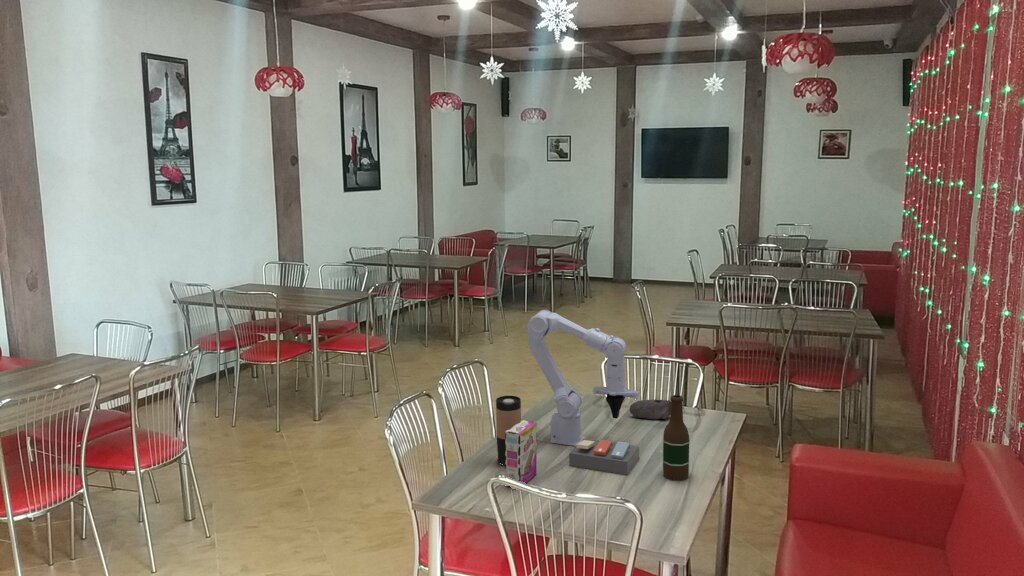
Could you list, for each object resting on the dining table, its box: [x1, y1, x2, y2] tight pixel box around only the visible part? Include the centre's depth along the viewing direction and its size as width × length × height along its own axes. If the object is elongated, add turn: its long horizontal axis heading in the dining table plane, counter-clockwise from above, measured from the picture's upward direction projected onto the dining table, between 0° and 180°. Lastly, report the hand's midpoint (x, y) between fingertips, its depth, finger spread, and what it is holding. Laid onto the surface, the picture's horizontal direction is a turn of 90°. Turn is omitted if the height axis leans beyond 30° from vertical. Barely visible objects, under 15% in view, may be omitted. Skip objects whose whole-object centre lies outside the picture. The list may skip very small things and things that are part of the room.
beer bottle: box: [662, 394, 690, 481], centre depth 218 cm, size 8×8×24 cm
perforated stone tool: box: [629, 399, 671, 421], centre depth 267 cm, size 15×5×7 cm, turn 74°
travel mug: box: [495, 395, 522, 466], centre depth 231 cm, size 8×8×20 cm
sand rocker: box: [575, 440, 595, 449], centre depth 231 cm, size 4×7×1 cm, turn 155°
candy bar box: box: [505, 419, 537, 484], centre depth 217 cm, size 11×5×16 cm, turn 152°
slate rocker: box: [611, 441, 630, 459], centre depth 226 cm, size 4×7×1 cm, turn 155°
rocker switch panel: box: [568, 438, 640, 476], centre depth 230 cm, size 18×13×4 cm
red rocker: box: [593, 439, 613, 456], centre depth 228 cm, size 4×7×1 cm, turn 155°
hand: (615, 417), depth 242 cm, fingers closed
